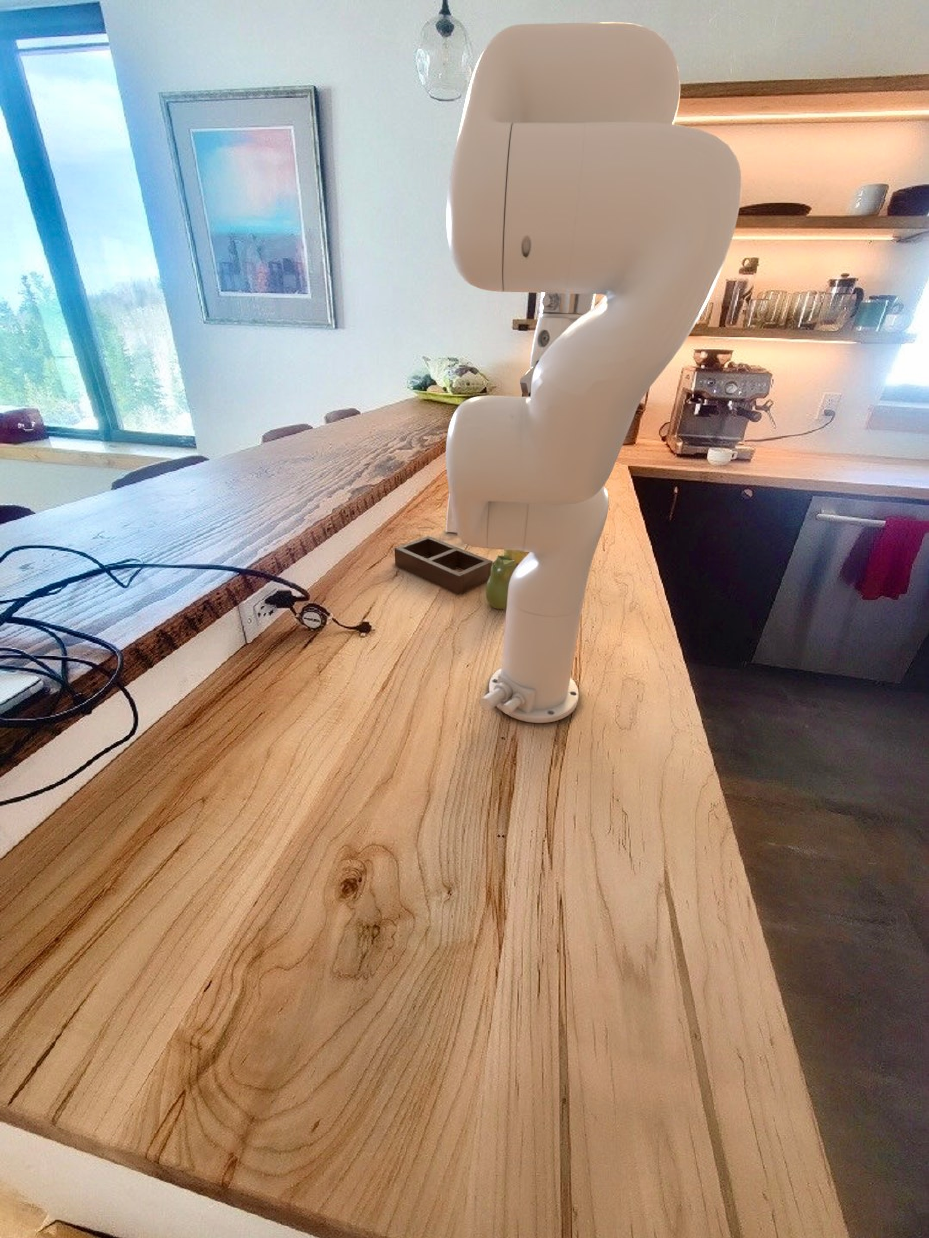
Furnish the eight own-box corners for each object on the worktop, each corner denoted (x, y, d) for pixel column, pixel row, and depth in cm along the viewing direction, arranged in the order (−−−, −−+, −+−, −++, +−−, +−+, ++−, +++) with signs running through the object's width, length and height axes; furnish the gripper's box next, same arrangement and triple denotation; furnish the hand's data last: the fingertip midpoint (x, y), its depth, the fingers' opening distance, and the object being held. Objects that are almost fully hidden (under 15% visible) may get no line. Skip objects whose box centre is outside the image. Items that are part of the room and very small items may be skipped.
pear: (497, 597, 96) (500, 548, 91) (520, 606, 93) (525, 556, 88) (479, 607, 92) (482, 557, 87) (503, 617, 89) (507, 566, 84)
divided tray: (458, 595, 96) (459, 576, 94) (395, 565, 107) (394, 547, 105) (491, 579, 103) (492, 561, 101) (428, 552, 113) (428, 535, 111)
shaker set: (495, 532, 125) (498, 488, 119) (492, 538, 122) (495, 493, 116) (449, 526, 127) (450, 483, 122) (444, 532, 124) (445, 488, 118)
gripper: (553, 304, 63) (539, 446, 71) (620, 309, 74) (600, 431, 83) (506, 304, 67) (498, 437, 76) (576, 308, 78) (561, 424, 87)
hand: (551, 434), depth 79 cm, fingers open, 9 cm apart
